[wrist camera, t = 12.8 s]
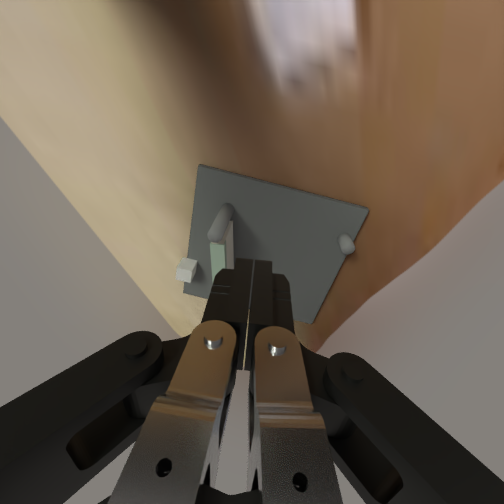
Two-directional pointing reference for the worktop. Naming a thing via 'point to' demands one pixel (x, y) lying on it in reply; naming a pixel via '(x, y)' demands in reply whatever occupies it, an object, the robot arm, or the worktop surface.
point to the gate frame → (270, 234)
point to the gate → (223, 252)
